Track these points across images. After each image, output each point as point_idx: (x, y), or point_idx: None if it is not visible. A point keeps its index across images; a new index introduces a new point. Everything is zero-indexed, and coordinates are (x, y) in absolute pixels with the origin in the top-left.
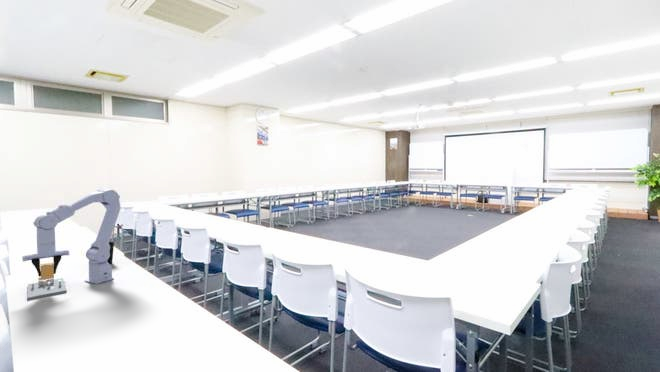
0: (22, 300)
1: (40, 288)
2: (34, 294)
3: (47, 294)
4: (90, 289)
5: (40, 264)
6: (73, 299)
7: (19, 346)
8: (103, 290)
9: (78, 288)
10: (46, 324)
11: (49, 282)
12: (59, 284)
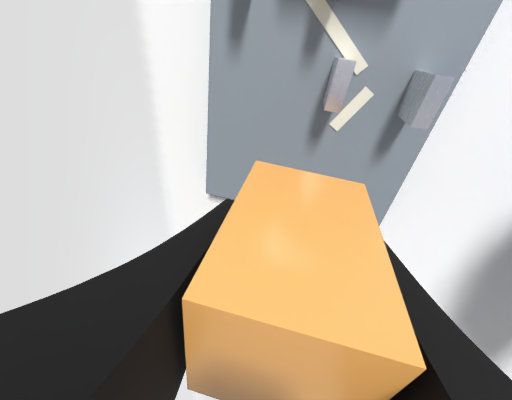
0: (192, 168)
1: (290, 34)
2: (236, 165)
3: None
4: (467, 276)
5: (184, 322)
6: None
7: (195, 397)
8: (477, 329)
9: (455, 209)
10: None
11: (344, 89)
12: (402, 119)
